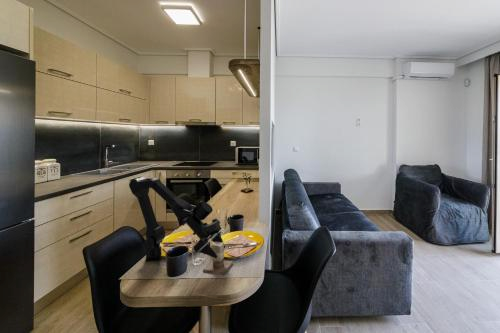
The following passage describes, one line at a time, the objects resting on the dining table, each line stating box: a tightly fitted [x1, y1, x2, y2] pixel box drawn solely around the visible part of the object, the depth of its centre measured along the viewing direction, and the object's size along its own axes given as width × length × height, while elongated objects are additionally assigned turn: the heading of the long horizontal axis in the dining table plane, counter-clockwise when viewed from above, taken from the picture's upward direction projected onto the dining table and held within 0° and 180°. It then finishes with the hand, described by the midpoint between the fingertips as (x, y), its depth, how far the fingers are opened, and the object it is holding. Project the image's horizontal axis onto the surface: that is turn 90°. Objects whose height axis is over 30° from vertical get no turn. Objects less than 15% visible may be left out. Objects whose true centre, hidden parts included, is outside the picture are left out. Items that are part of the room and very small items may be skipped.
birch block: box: [211, 241, 225, 262], centre depth 119 cm, size 4×4×7 cm
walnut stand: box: [202, 258, 233, 276], centre depth 120 cm, size 10×10×4 cm
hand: (220, 252), depth 118 cm, fingers open, 9 cm apart
